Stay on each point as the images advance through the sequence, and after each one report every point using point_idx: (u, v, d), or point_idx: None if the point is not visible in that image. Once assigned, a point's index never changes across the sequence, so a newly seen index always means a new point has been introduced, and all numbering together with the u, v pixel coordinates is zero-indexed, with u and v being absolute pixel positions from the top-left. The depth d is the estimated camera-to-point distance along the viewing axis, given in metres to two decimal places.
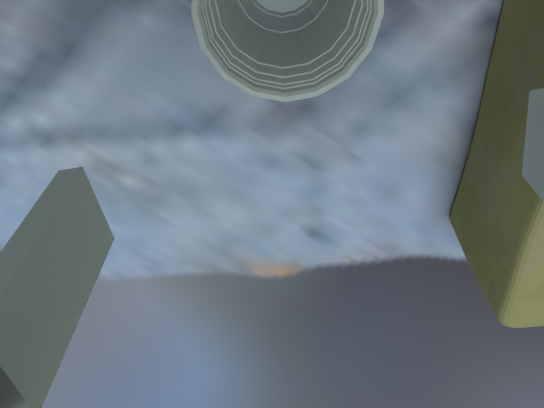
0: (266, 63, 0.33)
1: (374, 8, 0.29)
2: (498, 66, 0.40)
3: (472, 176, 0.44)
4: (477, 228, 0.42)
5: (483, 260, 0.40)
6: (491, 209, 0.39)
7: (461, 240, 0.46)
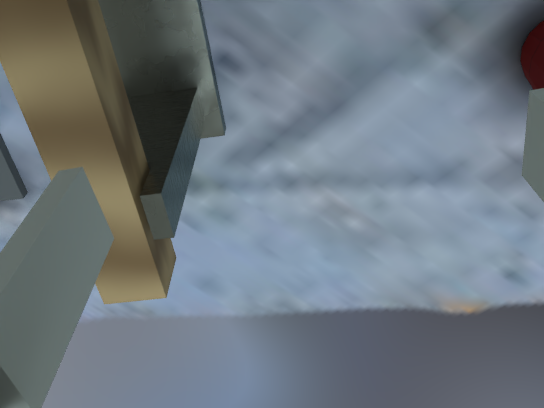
0: None
1: None
2: None
3: None
4: None
5: None
6: None
7: None
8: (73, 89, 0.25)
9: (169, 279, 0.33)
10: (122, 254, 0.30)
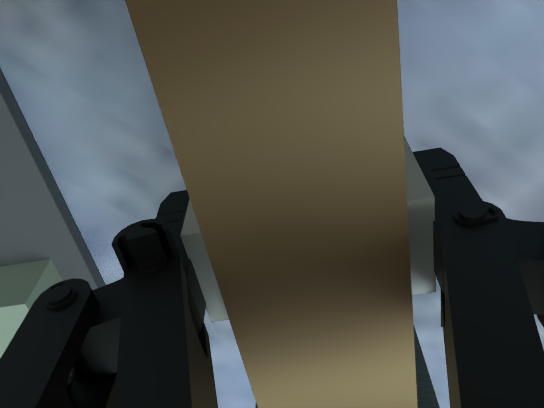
0: None
1: None
2: None
3: None
4: None
5: None
6: None
7: None
8: None
9: None
10: None
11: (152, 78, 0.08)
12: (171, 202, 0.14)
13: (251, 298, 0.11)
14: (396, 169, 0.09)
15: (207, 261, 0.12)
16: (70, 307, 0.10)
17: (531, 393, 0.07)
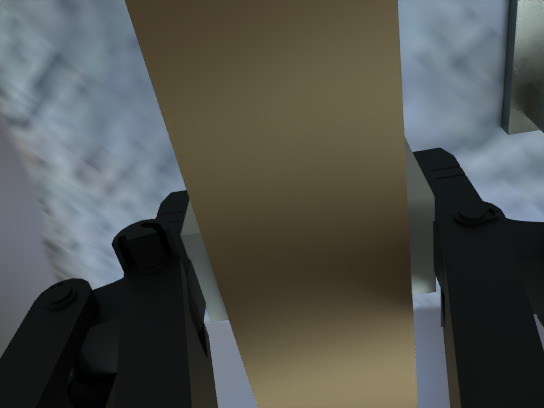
0: None
1: None
2: None
3: None
4: None
5: None
6: None
7: None
8: None
9: None
10: None
11: (152, 81, 0.08)
12: (171, 202, 0.14)
13: (251, 301, 0.11)
14: (397, 172, 0.09)
15: (207, 261, 0.12)
16: (70, 307, 0.10)
17: (530, 393, 0.07)
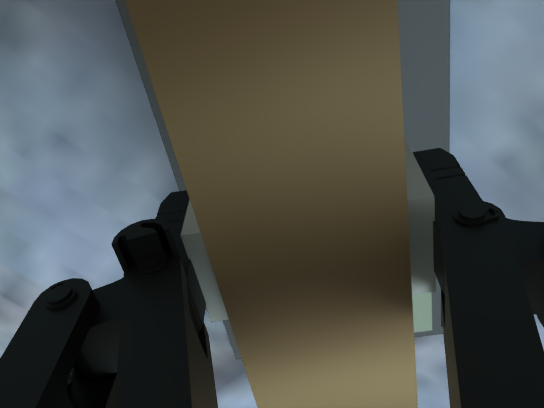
0: None
1: None
2: None
3: None
4: None
5: None
6: None
7: None
8: None
9: None
10: None
11: (153, 83, 0.08)
12: (171, 202, 0.14)
13: (251, 301, 0.11)
14: (396, 172, 0.09)
15: (207, 261, 0.12)
16: (70, 307, 0.10)
17: (531, 393, 0.07)
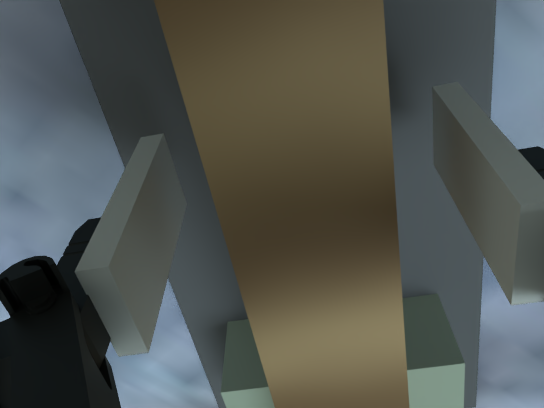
0: None
1: None
2: None
3: None
4: None
5: None
6: None
7: None
8: (367, 361, 0.14)
9: None
10: None
11: (170, 53, 0.10)
12: (85, 230, 0.13)
13: (254, 255, 0.12)
14: (383, 134, 0.10)
15: (106, 297, 0.11)
16: None
17: None
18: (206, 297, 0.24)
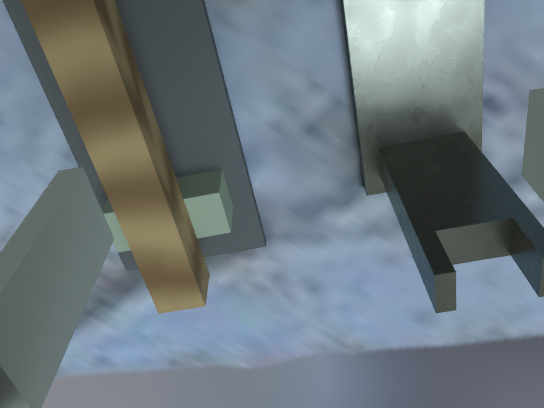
0: None
1: None
2: None
3: None
4: None
5: None
6: None
7: None
8: (136, 162, 0.35)
9: (206, 291, 0.43)
10: (171, 275, 0.40)
11: (36, 34, 0.30)
12: None
13: (79, 111, 0.33)
14: (112, 61, 0.31)
15: None
16: None
17: None
18: None
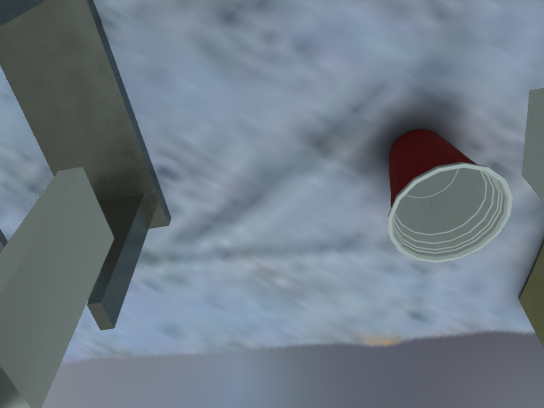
0: (419, 231, 0.49)
1: (503, 212, 0.45)
2: None
3: (543, 276, 0.59)
4: None
5: None
6: None
7: (532, 322, 0.61)
8: None
9: None
10: None
11: None
12: None
13: None
14: None
15: None
16: None
17: None
18: None
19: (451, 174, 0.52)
